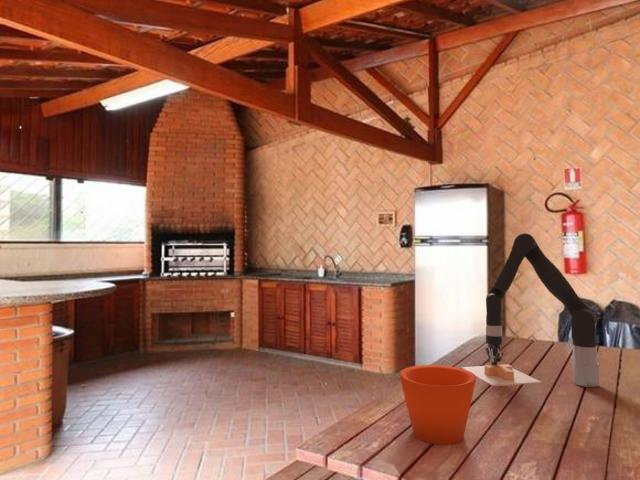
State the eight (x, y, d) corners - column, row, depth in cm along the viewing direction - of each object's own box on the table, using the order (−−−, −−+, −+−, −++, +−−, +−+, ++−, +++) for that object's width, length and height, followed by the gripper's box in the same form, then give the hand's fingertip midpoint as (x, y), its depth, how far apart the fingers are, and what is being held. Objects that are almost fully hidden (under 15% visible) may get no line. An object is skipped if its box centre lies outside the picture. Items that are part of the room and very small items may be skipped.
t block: (522, 379, 207) (521, 370, 207) (497, 381, 206) (497, 372, 206) (508, 372, 219) (507, 364, 219) (484, 373, 218) (484, 365, 218)
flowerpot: (421, 414, 168) (420, 361, 168) (489, 431, 152) (487, 372, 152) (386, 437, 149) (385, 377, 149) (459, 459, 133) (458, 391, 133)
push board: (541, 383, 204) (541, 381, 204) (491, 386, 201) (491, 384, 201) (505, 365, 233) (505, 364, 234) (461, 368, 230) (461, 367, 230)
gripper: (508, 336, 215) (509, 373, 215) (494, 331, 228) (494, 365, 228) (493, 337, 214) (494, 373, 214) (480, 331, 227) (480, 366, 227)
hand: (494, 369), depth 221 cm, fingers closed
